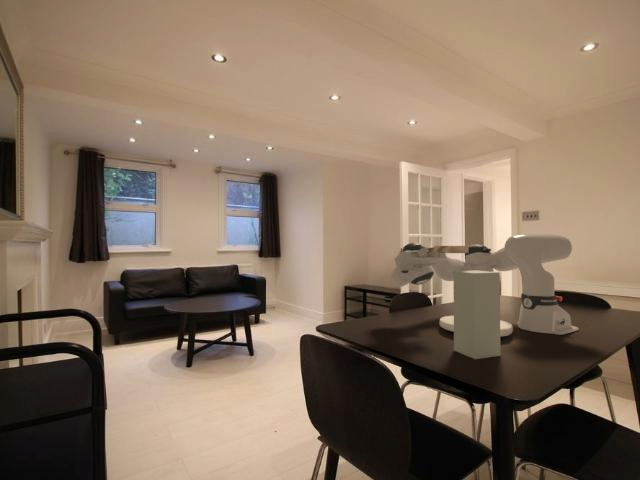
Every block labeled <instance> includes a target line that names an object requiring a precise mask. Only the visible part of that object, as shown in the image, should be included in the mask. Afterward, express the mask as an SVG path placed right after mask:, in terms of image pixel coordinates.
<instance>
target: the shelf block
mask: <svg viewBox="0 0 640 480" xmlns="http://www.w3.org/2000/svg"><path fill="white" fill-rule="evenodd" d="M500 272H501V271H493V272H489V271H478V270H475V271H453V279H454V281H453V316H454V332H453V351H454V352H457V353H459V354H461V355H464V356H467V357H469V358H471V359H473V360H479V359H480V360H481V359H486V358H494V357H500V356H501V354H502V353H501V337H500V320H501V287H500V286H501V285H500V284H501V282H500V280H501V279H500V277H501V276H500V274H501V273H500ZM501 357H502V356H501Z"/></svg>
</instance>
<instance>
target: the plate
mask: <svg viewBox="0 0 640 480" xmlns="http://www.w3.org/2000/svg"><path fill="white" fill-rule="evenodd" d="M438 322H439V326H440V328H443V329H444V330H447V331H450V332H453V333H454V315H446V316H442V317H440V319H439V321H438ZM513 327H514V326H513V324H512V323H510V322H508V321H505V320H501V319H500V338H501V337H507V336H510V335H511V334H512V333H513V331H514V328H513Z"/></svg>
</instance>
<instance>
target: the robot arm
mask: <svg viewBox="0 0 640 480" xmlns="http://www.w3.org/2000/svg"><path fill="white" fill-rule="evenodd" d="M424 247H425V248H424ZM429 247H430V246H423V245H422V244H421V243H417V242H410V243H407V244H406V245H404V246H403V247H402V250H401V252H400V253H399V254H397V256H396V257H395V258H394V261H395V266H396V267H395V268H393V270H392V272H391V274H390V280H391V282H392V283H393V285H394V286H396V287H398V288H402V287H405V286H407V285H408V284H413V285H420V286H421V285H423V284H425V283H427V282H429V281H430V280H431V279H432V278H433V276H434V275H435V274H436V276H437V277H438V278H439V279H441V280H444V281H446V282H454V279H453V271H475V270H478V271H489V272H494V270H495V271H496V272H508V271H509V272H510V271H513V270H517V269H518V270H519V272H520V277H521V289H522V290H521V291H522V293H521V294H520V295H521V296H520V302H521V305H520V307H519V318H518V321H517V327H518V328H520V329H521V330H524V331H529V332H533V333H541V334H552V335H557V336H558V335H559V336H561V335H566V334H571V333H573V332H577V331H580V330H579V327H577V326H574V325H572V320H571V315H570V314H569V313H568V312H567V311H566V310H564V309H563V308H562V307H561V306H559V303H558V302H562V301H563V297H562V296H558V295H555V277H554V275H553V274H552V273H551V272H549V271H547V270H545V268H544V266H543V264H546V263H551V262H555V261H561V260H566V259H568V258H569V257H570V255H571V253H572V251H573V246H572V242H571V241H570V239H569V238H567V237H566V236H561V235H557V234H531V233H530V234H529V233H528V234H518V235H513V236H510V237H508V238H507V240H506V241H505V243H504V247H502V248H500V249H498V250H497V251H495V252H494V251H493V252H491V251H492V249H491V248H488V247H487V246H485V244H484V245H483V244H472V245H468V253H464V257H465V261H466V262H465V261H463V260H461V259H457V258H451V257H448V256H447V253H435V252H429V251H430V249H429ZM432 248H435V246H434V247H432ZM434 273H435V274H434Z"/></svg>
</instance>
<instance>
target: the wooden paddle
mask: <svg viewBox="0 0 640 480" xmlns="http://www.w3.org/2000/svg"><path fill="white" fill-rule="evenodd" d="M423 247H424V248H425V247H426V246H423ZM428 247H429V249H430V251H429V252H435V253H445V254H465V253H468V247H469V245H434V247H435V248H433V247H430V246H428Z"/></svg>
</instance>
